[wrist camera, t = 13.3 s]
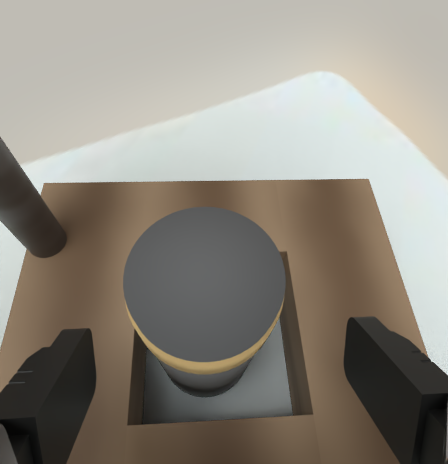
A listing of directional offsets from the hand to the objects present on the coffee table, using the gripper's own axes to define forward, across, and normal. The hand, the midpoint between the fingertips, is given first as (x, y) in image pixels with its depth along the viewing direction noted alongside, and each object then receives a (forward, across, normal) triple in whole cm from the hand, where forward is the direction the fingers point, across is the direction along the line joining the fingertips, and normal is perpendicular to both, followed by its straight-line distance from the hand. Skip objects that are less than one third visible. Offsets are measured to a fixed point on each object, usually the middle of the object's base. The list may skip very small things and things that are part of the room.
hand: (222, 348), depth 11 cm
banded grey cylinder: (+8, 0, +6) cm, 10 cm away
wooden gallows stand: (+9, 0, +5) cm, 10 cm away
